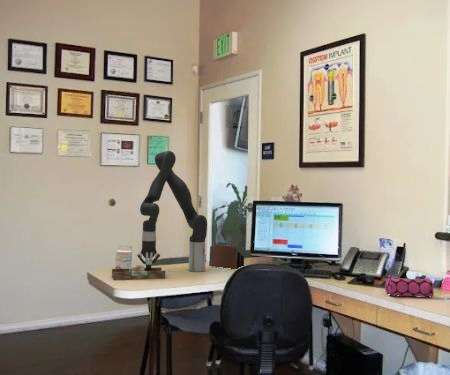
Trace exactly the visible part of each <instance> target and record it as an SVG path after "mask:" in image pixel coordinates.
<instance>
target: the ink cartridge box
mask: <svg viewBox="0 0 450 375" xmlns="http://www.w3.org/2000/svg"><path fill="white" fill-rule="evenodd" d="M114 263H115V267H114V269H120V268H132V265H133V246H132V245H129V244H128V245H127V244H125V245H124V244H123V245H122V244H119V245H118V250H116V251H115V262H114Z"/></svg>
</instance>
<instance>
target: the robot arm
mask: <svg viewBox="0 0 450 375" xmlns="http://www.w3.org/2000/svg"><path fill="white" fill-rule="evenodd" d="M176 157H177V156H176V155H175V153H174V152H173V151H172V150H165V151H162V152H158V153H156V154H155V156H154V162H155V165H156V167H157V168H158V171H159V172H158V173H157V175H156V176H155V178H154V179H153V180H152V183H151V184H150V187H149V190H148V193H147V195H146V196H145V198H144V200H143V201H142V202H141V205H140V208H139V212H140V214H141V215H142V216H145V217H149V218H148V219H146V220H144V221H143V222H142V235H141V236H142V237H141V250H140V253H138V254H136V257H138V259H139V260H140V262H141V263H142V265H145V268H146V271H151V268H152V265H153V264H155V263H156V262H157V261H158V259H159V258H160V257H161V254H160V253H158V252H157V232H156V231H157V221H158V217H159V215H160V205H159V204H158V203H156V202H158V201H160V199H161V197H162V192H163V191H164V186H165V185H166V183H167V185H168V186H169V188H170V190H171V192H172V194H173V196H174V198H175V200H176V202H177V204H178V206H179V207H180V209H181V211H182V212H183V215H184V217H185V220H186V223H187V224H188V227H189V228H190V229H192V234H191V235H190V236H189V245H188V246H189V249H188V252H189V253H188V271H189V272H195V273H196V272H198V273H199V272H206V259H207V258H206V254H205V253H206V252H205V251H206V238H207V236H208V235H207V234H208V220H207V218H206V216H204V215H203V214H198V212H197V211H196V209H195V207H194V204H193V201H192V200H193V199H192V194H191V191H190V189H189V188H188V186H187V184H186V182H185V181H184V180H183V179H182V178H180V176H179V175H177V174H176V173H175V172H174V170H173V168H174V165H175V163H176V160H177V159H176ZM143 258H144V259H143Z"/></svg>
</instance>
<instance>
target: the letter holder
mask: <svg viewBox="0 0 450 375" xmlns="http://www.w3.org/2000/svg"><path fill="white" fill-rule="evenodd" d="M209 266H215V267H214V268H217V267H223V268H222V269H224V268H231V269H230V270H232V269H238V268H239V267H241V266H244V267H245V256H244V255H242V253H241V252H239V251H238V248H236V247H234V246H229V245H224V244H222V245H221V244H220V245H211V246H210V248H209V264H208V267H209ZM238 270H239V269H238Z"/></svg>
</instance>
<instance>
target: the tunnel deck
mask: <svg viewBox="0 0 450 375" xmlns="http://www.w3.org/2000/svg"><path fill="white" fill-rule="evenodd" d="M162 269H163V268H162V267H151V271H146V267H144V271H133V272H132V268H120V269H115V268H111V277H112V279H113V280H114V281H131V280H132V281H133V280H134V281H135V280H156V279H157V280H159V279H160V280H162V279H163V280H164V279H166V270H162Z"/></svg>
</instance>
